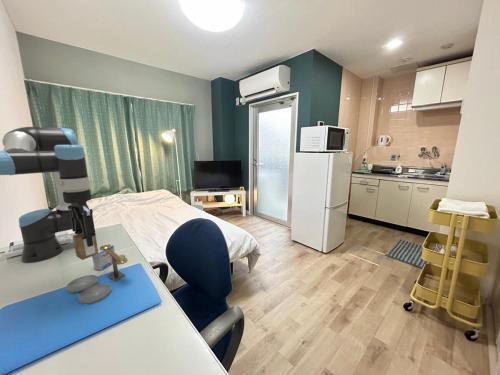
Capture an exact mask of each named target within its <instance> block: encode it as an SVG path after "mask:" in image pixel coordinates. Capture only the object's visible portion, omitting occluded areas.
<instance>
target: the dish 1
mask: <svg viewBox="0 0 500 375" xmlns="http://www.w3.org/2000/svg"><path fill="white" fill-rule="evenodd" d="M98 281H99V279H98V276H97V275H95V274H86V275H83V276H79V277H77V278H75V279H73V280H72V281H70V282H69V283H67V285H66V287H65V289H66V292H67V293H68V294H81V293H82V292H83V291H84V290H86V289H87V288H89V287H91V286H94V285H97V284H98V283H99V282H98Z"/></svg>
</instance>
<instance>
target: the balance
mask: <svg viewBox="0 0 500 375" xmlns="http://www.w3.org/2000/svg"><path fill="white" fill-rule="evenodd" d="M111 245H112V244H103V245H102V246H100V247H99V248H100V250H105V251H106V252H107V253H108V254H109V255H110V256H111V257H112V264H111V265H112V270H113V272H111V273H109V274H107V278H109V279H110V280H112V281H114V282H117V281H119V280H121V279H123V278H125V277H126V274H125V273H123V272H121V271H120V270H119V268H118V265H119V266H120V265H123V264H126V263H127V262H128V258H127V257H126V255H124V254H123V253H122V254H119V255H118V254H117V253H116V251H115V252H113V251H112V250H111V249H110V248H111Z"/></svg>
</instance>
